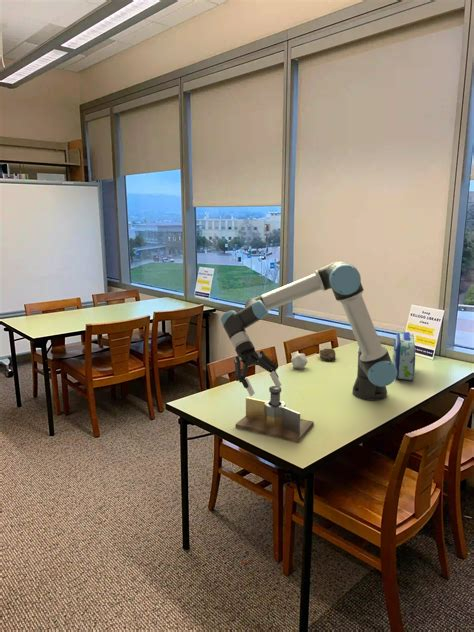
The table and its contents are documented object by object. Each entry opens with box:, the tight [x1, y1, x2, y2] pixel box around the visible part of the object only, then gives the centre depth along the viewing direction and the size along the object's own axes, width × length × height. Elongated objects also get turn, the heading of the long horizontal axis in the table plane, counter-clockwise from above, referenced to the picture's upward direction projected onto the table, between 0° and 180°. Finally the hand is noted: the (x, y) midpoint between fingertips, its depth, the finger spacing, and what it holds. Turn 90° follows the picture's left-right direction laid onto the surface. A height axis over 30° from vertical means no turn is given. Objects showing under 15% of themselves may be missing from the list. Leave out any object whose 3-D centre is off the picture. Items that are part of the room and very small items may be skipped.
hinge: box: [245, 396, 301, 434], centre depth 171 cm, size 24×8×8 cm, turn 61°
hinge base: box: [235, 415, 315, 444], centre depth 173 cm, size 26×16×2 cm, turn 61°
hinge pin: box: [268, 385, 282, 406], centre depth 171 cm, size 5×5×14 cm
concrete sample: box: [318, 348, 337, 362], centre depth 255 cm, size 12×10×5 cm
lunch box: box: [392, 331, 416, 381], centre depth 227 cm, size 26×11×21 cm, turn 161°
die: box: [290, 352, 308, 370], centre depth 240 cm, size 8×9×10 cm
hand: (266, 390), depth 174 cm, fingers open, 13 cm apart
